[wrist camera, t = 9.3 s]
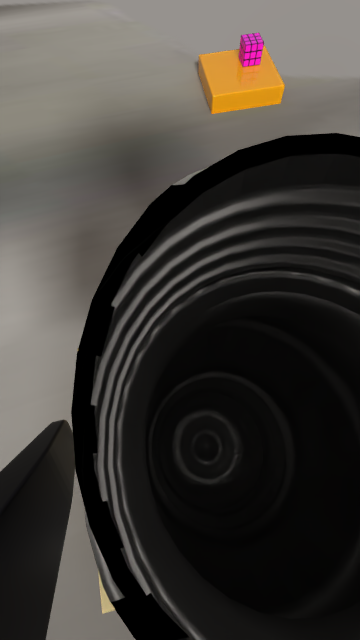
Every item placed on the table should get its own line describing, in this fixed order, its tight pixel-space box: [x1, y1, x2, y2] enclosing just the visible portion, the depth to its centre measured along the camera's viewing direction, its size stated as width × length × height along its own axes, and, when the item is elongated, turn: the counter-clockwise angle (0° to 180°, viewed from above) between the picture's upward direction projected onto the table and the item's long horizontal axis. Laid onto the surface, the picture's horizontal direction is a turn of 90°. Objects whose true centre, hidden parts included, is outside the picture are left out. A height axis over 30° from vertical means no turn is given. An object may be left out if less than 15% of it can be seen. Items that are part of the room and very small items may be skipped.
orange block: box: [199, 33, 285, 114], centre depth 33 cm, size 8×8×4 cm
